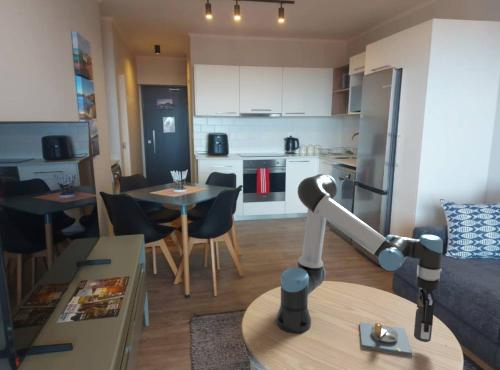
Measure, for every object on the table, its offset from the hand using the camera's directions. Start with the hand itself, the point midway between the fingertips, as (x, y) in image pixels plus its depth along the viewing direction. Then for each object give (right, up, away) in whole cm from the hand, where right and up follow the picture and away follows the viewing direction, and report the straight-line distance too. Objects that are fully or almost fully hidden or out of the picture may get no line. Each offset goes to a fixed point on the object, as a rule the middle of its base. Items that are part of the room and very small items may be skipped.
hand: (422, 333), depth 127 cm
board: (-12, -6, +8) cm, 15 cm away
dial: (-12, -4, +6) cm, 14 cm away
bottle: (0, -2, 0) cm, 2 cm away
